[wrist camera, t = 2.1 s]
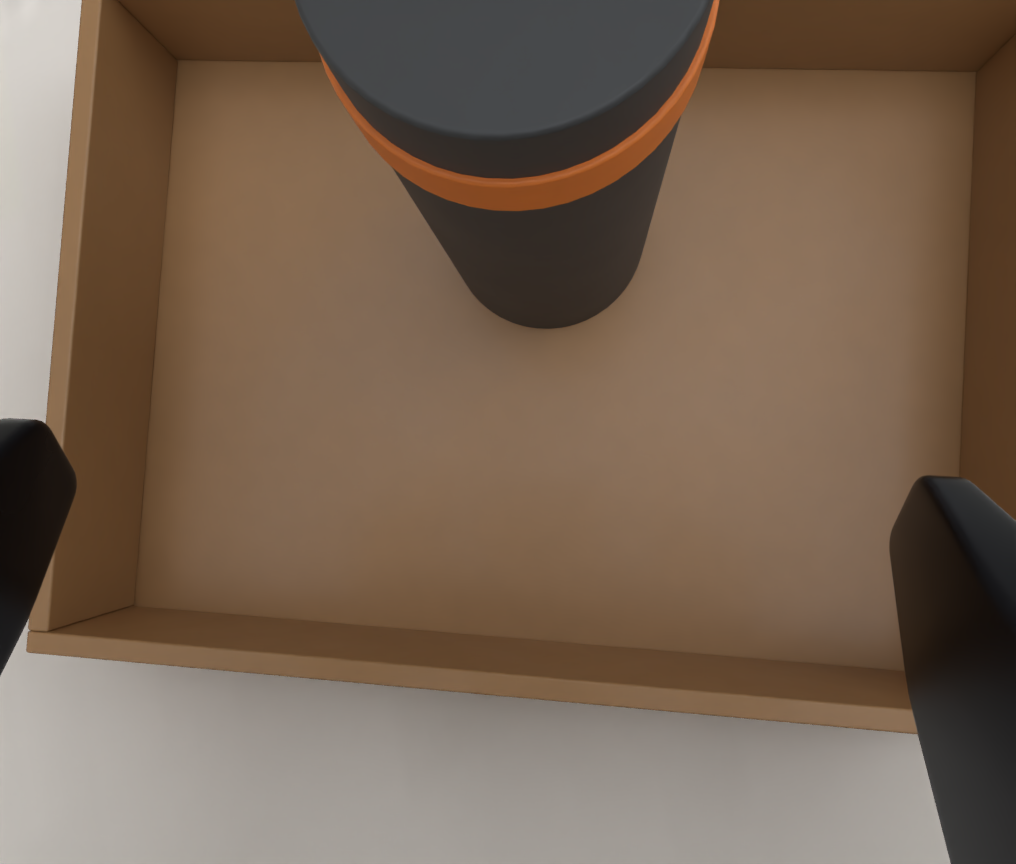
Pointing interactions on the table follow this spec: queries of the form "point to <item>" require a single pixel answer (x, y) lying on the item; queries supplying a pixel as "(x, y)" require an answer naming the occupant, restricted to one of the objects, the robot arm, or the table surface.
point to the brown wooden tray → (530, 375)
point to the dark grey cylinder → (523, 130)
